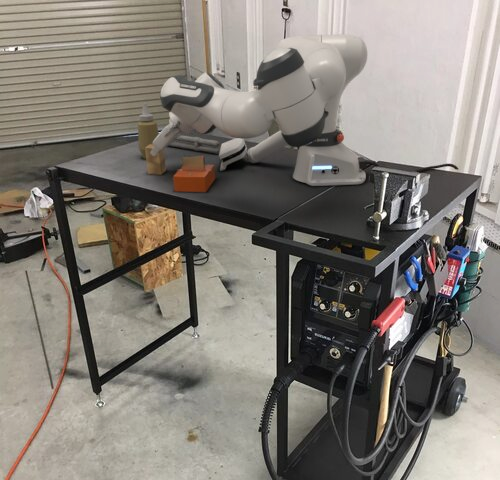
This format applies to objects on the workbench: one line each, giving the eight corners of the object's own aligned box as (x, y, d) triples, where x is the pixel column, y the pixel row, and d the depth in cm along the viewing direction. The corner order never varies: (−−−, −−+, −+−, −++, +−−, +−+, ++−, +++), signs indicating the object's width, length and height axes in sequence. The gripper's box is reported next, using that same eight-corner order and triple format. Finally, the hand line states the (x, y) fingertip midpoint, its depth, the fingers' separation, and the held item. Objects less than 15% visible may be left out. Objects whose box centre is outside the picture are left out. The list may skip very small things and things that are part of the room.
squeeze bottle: (163, 154, 196) (157, 101, 187) (161, 160, 190) (155, 105, 180) (141, 154, 196) (134, 102, 187) (138, 160, 189) (131, 106, 180)
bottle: (258, 158, 184) (315, 125, 167) (253, 166, 182) (310, 134, 164) (249, 146, 182) (305, 111, 165) (244, 155, 179) (300, 121, 162)
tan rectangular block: (183, 170, 162) (181, 156, 159) (184, 169, 163) (183, 154, 161) (204, 171, 161) (203, 156, 158) (205, 169, 162) (204, 155, 160)
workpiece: (166, 170, 178) (163, 144, 174) (161, 174, 174) (158, 148, 170) (152, 170, 179) (149, 144, 175) (148, 174, 175) (144, 147, 171)
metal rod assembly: (164, 146, 206) (163, 133, 203) (169, 145, 208) (168, 131, 205) (216, 155, 193) (215, 141, 190) (221, 153, 194) (220, 139, 192)
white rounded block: (220, 171, 176) (248, 159, 173) (214, 157, 173) (242, 145, 171) (223, 158, 190) (249, 147, 187) (217, 145, 187) (244, 133, 185)
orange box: (184, 178, 170) (182, 163, 168) (217, 179, 169) (216, 164, 166) (172, 191, 160) (171, 175, 157) (207, 192, 158) (206, 176, 155)
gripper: (180, 134, 159) (153, 166, 166) (200, 119, 175) (174, 149, 182) (164, 118, 157) (138, 151, 164) (185, 105, 174) (160, 135, 181)
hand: (157, 150), depth 173 cm, fingers open, 8 cm apart
